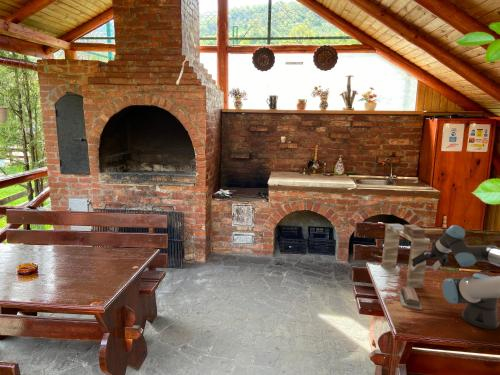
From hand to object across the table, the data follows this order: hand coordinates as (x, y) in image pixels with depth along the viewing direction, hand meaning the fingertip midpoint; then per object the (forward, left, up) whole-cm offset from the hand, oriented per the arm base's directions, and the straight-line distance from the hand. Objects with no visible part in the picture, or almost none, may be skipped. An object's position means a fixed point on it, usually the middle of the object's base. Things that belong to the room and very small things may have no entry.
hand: (422, 268), depth 196 cm
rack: (+23, -2, -15) cm, 28 cm away
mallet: (+15, -9, +15) cm, 23 cm away
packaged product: (-7, +11, -16) cm, 20 cm away
